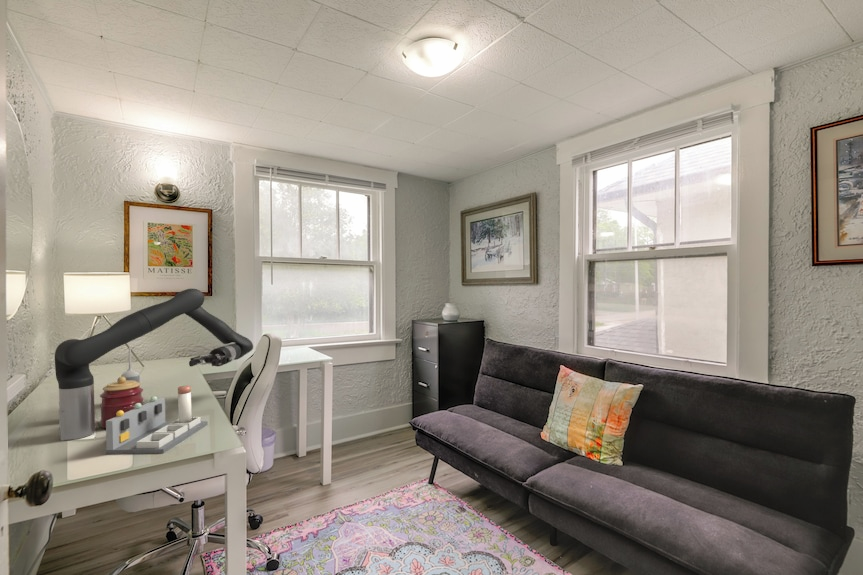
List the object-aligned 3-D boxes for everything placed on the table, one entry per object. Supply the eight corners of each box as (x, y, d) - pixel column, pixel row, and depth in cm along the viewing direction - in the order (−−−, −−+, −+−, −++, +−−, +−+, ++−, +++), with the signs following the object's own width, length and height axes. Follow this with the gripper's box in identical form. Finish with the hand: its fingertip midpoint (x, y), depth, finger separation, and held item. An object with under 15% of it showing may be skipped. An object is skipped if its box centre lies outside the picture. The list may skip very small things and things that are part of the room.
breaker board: (163, 453, 127) (162, 414, 127) (105, 453, 127) (104, 415, 127) (207, 424, 152) (206, 392, 152) (158, 425, 152) (158, 392, 152)
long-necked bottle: (131, 406, 175) (129, 348, 174) (114, 406, 176) (112, 348, 176) (147, 401, 183) (145, 345, 183) (130, 400, 184) (129, 345, 184)
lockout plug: (180, 428, 144) (179, 389, 144) (177, 425, 147) (176, 387, 147) (193, 425, 147) (192, 386, 147) (190, 423, 150) (188, 384, 150)
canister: (120, 431, 146) (119, 381, 146) (91, 428, 149) (89, 380, 149) (152, 418, 159) (151, 373, 159) (124, 417, 162) (123, 372, 162)
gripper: (205, 347, 174) (182, 354, 158) (239, 346, 174) (219, 353, 158) (206, 364, 174) (183, 373, 158) (239, 363, 174) (220, 373, 158)
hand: (201, 363), depth 158 cm, fingers open, 8 cm apart
